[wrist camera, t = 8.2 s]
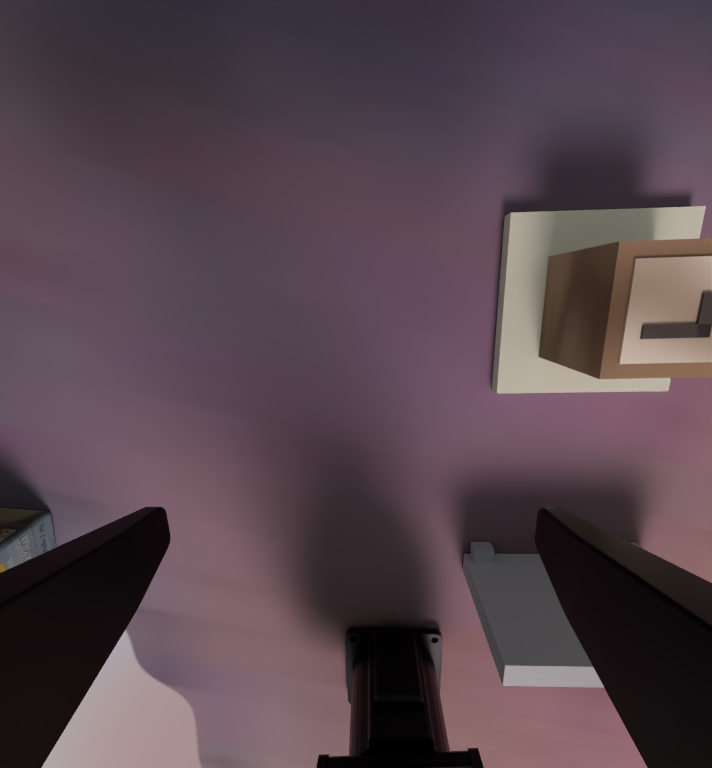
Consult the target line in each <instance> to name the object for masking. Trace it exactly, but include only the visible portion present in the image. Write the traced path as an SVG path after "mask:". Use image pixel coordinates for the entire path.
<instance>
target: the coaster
mask: <svg viewBox="0 0 712 768" xmlns="http://www.w3.org/2000/svg"><path fill="white" fill-rule="evenodd" d="M705 208H706V206H696V207H665V208H634V209H603V210H573V211H542V212H511V213H509V214H507V215H506V216H505V218H504V231H503V245H502V258H501V271H500V285H499V298H498V312H497V325H496V339H495V352H494V365H493V379H492V390H493V391H494V392H496V393H565V392H640V391H668V390H669V385H670V380H671V378H635V379H597V378H595V377H592V376H589V375H586V374H584V373H581V372H578V371H576V370H573V369H570V368H567V367H565V366H562V365H559V364H556V363H554V362H551V361H548V360H545V359H543V358H540V357H539V348H540V338H541V328H542V318H543V308H544V298H545V288H546V278H547V268H548V258H549V256H553V255H558V254H562V253H567V252H572V251H577V250H581V249H586V248H591V247H595V246H600V245H605V244H610V243H614V242H619V241H645V240H673V239H699V237H700V232H701V228H702V223H703V218H704V213H705Z"/></svg>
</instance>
